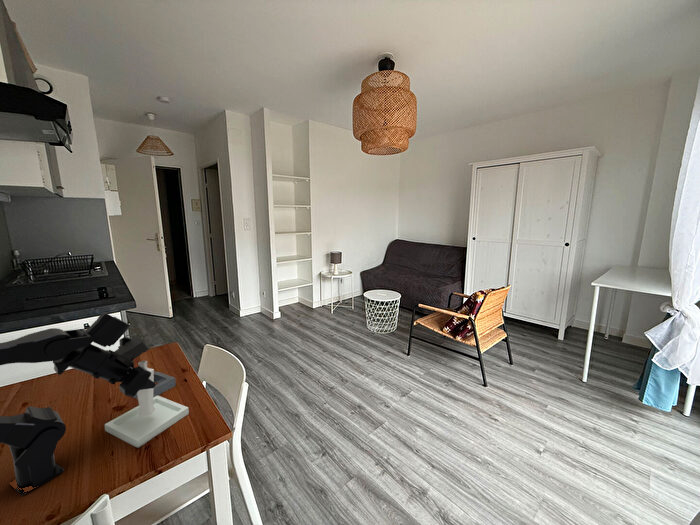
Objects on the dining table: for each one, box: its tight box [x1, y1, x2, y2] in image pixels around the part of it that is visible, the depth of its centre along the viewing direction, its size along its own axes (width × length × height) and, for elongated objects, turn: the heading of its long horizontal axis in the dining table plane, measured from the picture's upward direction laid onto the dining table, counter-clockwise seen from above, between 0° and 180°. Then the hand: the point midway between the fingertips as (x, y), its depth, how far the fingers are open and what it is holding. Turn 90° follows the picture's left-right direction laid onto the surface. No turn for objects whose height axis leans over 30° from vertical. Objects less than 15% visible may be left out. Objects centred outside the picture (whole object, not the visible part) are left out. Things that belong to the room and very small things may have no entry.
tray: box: [104, 395, 190, 449], centre depth 79 cm, size 14×14×2 cm
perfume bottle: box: [137, 360, 155, 417], centre depth 77 cm, size 5×4×15 cm
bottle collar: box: [132, 371, 176, 400], centre depth 93 cm, size 10×10×3 cm
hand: (150, 383), depth 78 cm, fingers closed on perfume bottle, 4 cm apart
